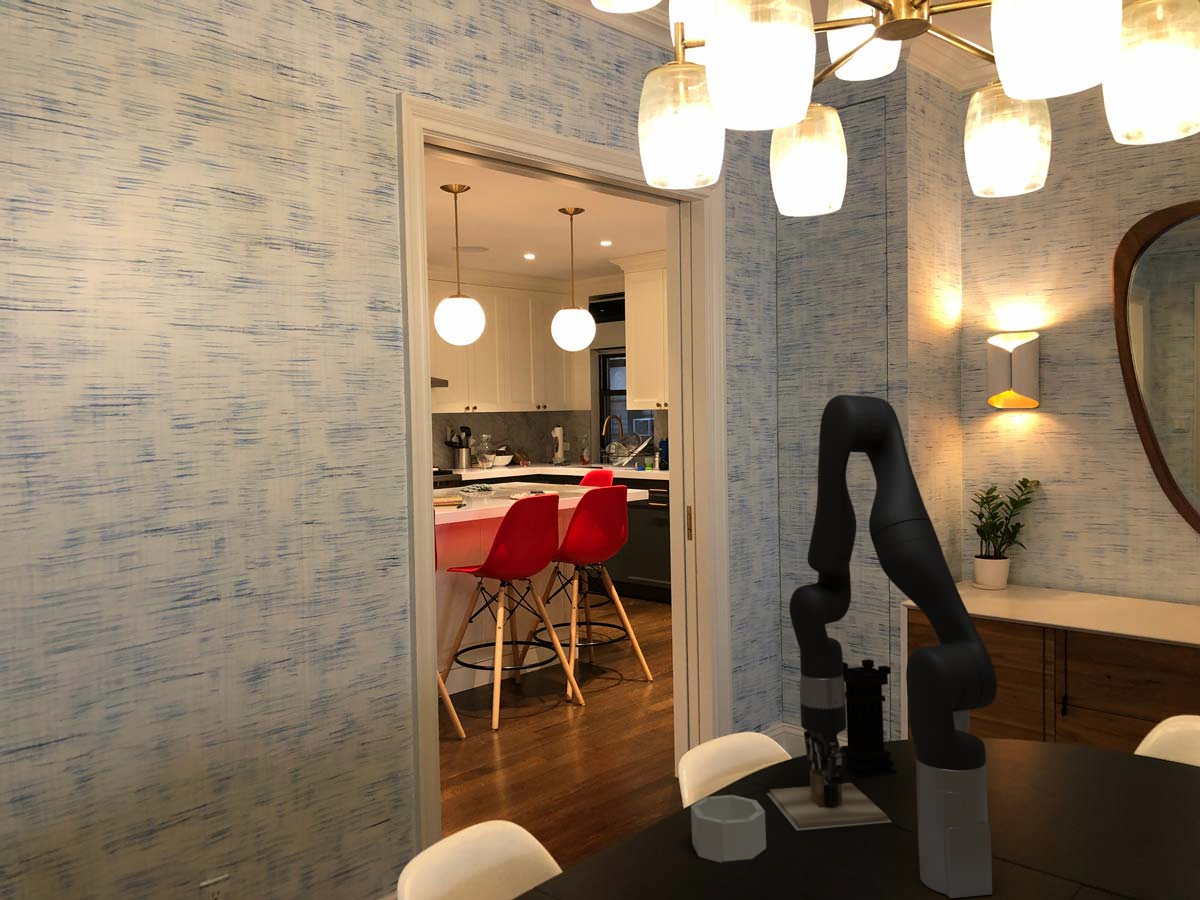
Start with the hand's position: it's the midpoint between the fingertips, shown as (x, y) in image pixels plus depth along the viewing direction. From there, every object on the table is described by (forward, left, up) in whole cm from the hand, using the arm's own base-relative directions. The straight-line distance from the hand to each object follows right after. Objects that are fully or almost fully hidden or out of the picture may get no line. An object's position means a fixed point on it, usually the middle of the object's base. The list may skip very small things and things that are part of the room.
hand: (826, 800), depth 155 cm
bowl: (-11, +20, -1) cm, 23 cm away
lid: (0, 0, -1) cm, 1 cm away
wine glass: (+4, -24, -2) cm, 24 cm away
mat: (0, 0, -1) cm, 1 cm away
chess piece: (+16, -14, -2) cm, 21 cm away
